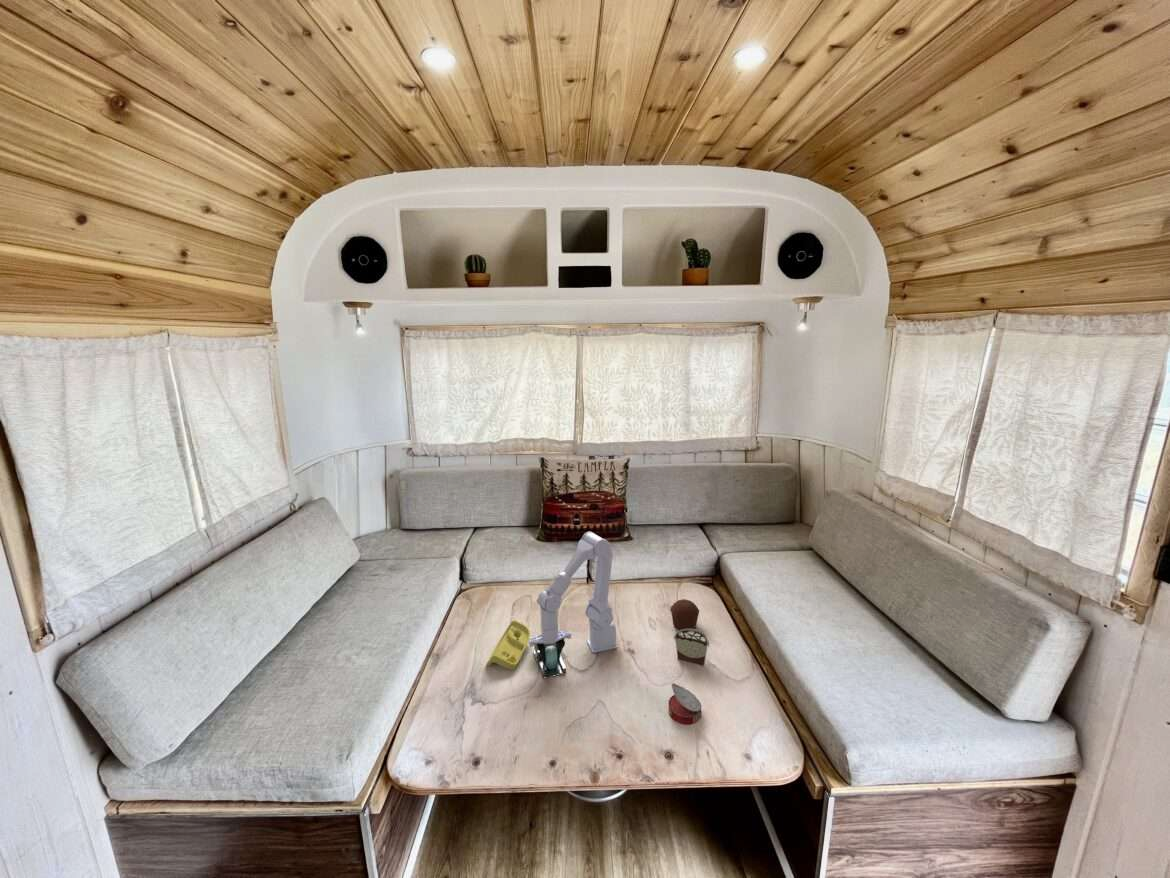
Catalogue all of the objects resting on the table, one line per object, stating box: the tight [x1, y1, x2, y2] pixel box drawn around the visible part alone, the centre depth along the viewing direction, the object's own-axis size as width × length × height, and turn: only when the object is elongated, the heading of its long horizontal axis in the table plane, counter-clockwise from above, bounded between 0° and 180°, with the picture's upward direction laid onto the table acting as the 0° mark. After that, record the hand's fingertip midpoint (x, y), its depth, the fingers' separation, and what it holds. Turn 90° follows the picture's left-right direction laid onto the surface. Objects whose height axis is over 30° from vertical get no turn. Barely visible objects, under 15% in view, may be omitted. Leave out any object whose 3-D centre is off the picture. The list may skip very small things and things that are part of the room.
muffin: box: [669, 598, 700, 631], centre depth 192 cm, size 12×11×10 cm
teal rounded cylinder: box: [545, 646, 558, 669], centre depth 170 cm, size 4×4×7 cm
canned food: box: [668, 682, 702, 726], centre depth 148 cm, size 11×10×10 cm
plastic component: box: [485, 619, 531, 671], centre depth 179 cm, size 20×7×10 cm
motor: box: [533, 642, 567, 679], centre depth 173 cm, size 10×15×6 cm
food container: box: [673, 628, 710, 667], centre depth 173 cm, size 12×6×10 cm, turn 65°
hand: (551, 659), depth 170 cm, fingers closed on teal rounded cylinder, 4 cm apart
